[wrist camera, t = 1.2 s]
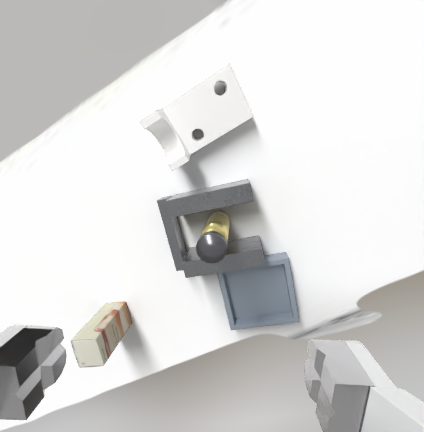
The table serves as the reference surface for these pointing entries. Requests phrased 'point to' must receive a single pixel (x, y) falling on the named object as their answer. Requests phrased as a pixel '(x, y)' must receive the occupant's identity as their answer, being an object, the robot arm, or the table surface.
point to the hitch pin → (214, 238)
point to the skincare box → (101, 335)
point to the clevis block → (202, 201)
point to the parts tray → (260, 294)
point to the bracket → (199, 117)
